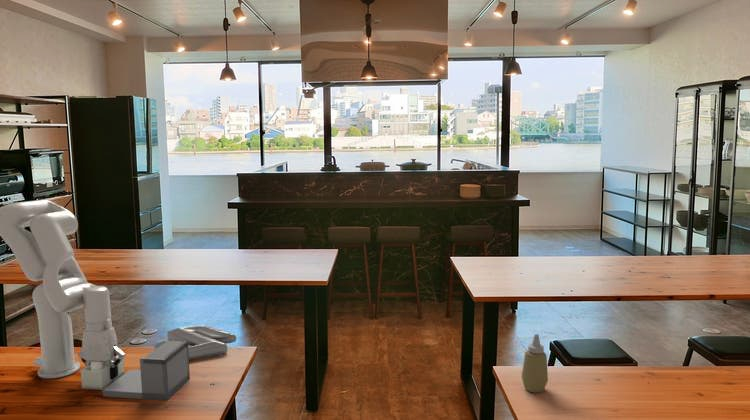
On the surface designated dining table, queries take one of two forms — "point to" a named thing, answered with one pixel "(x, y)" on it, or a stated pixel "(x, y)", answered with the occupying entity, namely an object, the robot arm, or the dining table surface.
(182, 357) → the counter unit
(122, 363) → the egg tray
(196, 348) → the emblem
